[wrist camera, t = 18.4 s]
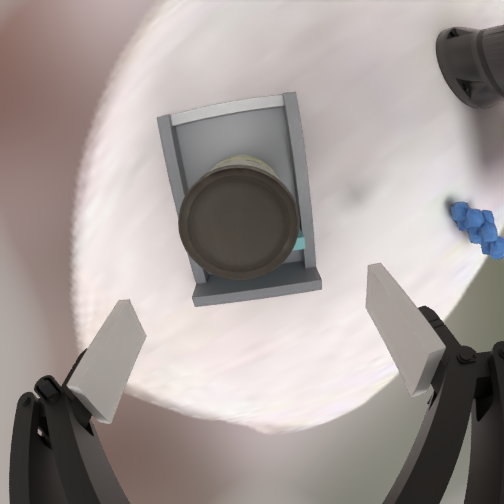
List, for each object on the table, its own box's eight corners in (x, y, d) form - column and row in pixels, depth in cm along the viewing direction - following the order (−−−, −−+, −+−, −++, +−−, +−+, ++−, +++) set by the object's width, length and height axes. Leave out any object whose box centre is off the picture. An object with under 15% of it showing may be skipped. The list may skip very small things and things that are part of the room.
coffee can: (291, 215, 37) (312, 261, 24) (220, 238, 38) (205, 293, 25) (267, 143, 33) (278, 148, 20) (192, 169, 34) (159, 191, 21)
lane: (164, 118, 32) (146, 116, 26) (291, 95, 31) (301, 87, 25) (202, 282, 42) (194, 306, 36) (312, 266, 41) (322, 289, 35)
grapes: (481, 220, 37) (522, 245, 27) (463, 247, 40) (502, 277, 29) (456, 179, 35) (505, 198, 24) (436, 208, 37) (482, 235, 26)
